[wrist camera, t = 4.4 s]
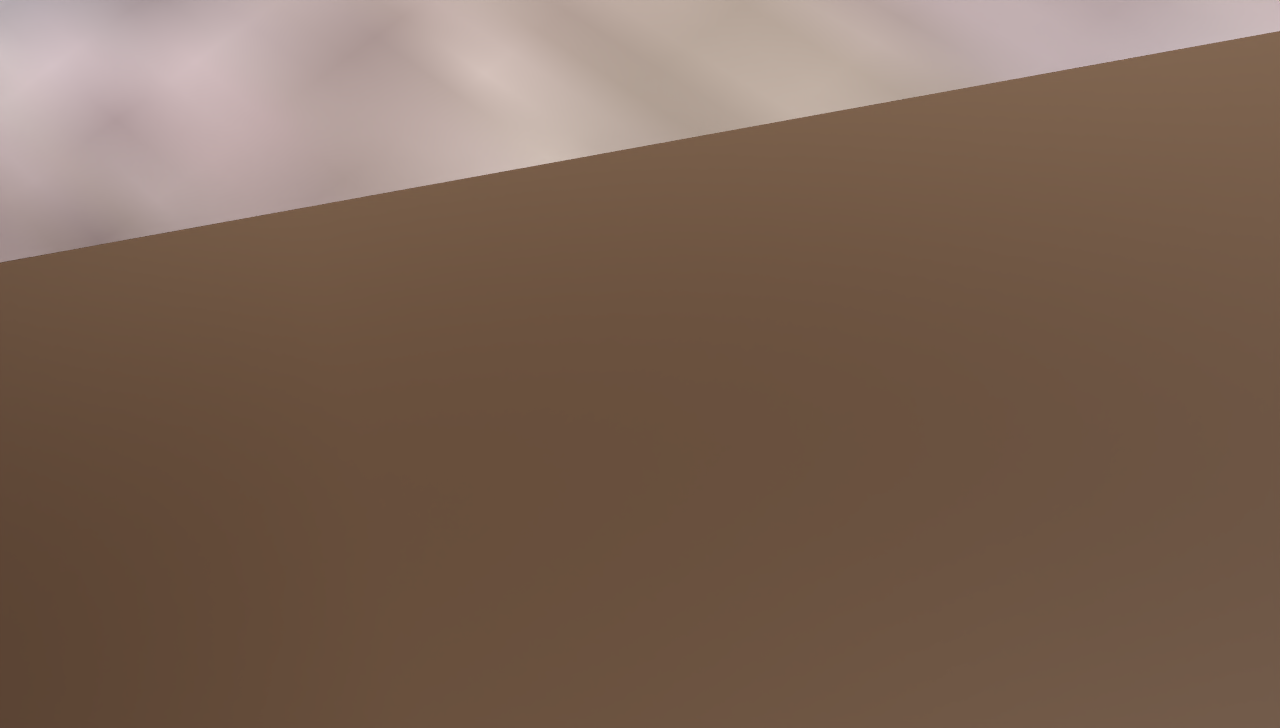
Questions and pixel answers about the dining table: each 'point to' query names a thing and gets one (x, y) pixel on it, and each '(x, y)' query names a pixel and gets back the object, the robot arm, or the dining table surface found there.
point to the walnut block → (682, 433)
